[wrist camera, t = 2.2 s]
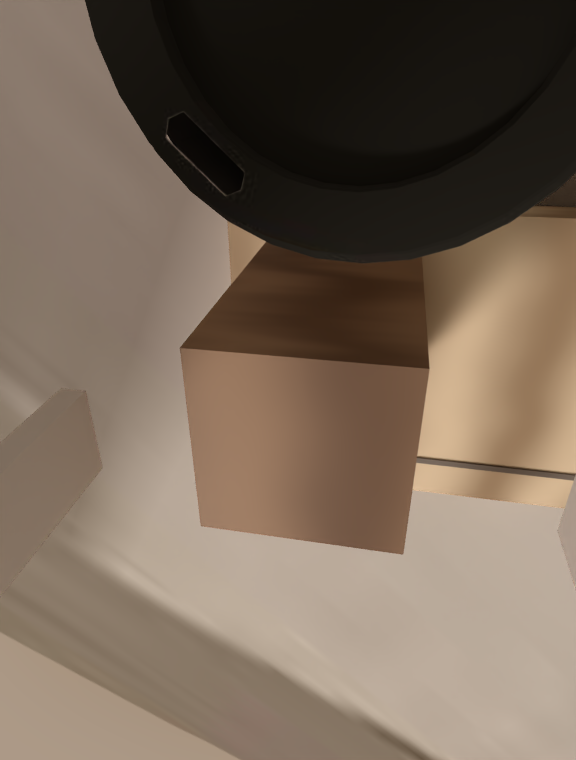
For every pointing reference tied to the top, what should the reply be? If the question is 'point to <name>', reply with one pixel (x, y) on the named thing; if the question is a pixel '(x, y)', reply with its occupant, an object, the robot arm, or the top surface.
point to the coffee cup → (353, 113)
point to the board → (495, 360)
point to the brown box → (310, 399)
